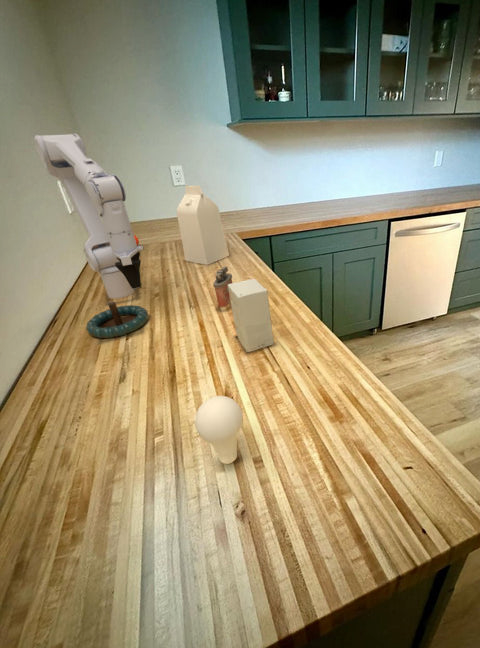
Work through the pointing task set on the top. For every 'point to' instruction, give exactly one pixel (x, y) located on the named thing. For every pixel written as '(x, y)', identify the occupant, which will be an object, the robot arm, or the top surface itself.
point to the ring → (121, 329)
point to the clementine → (136, 240)
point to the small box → (251, 314)
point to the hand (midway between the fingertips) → (136, 283)
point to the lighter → (222, 286)
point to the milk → (201, 228)
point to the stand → (116, 317)
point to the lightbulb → (220, 425)
